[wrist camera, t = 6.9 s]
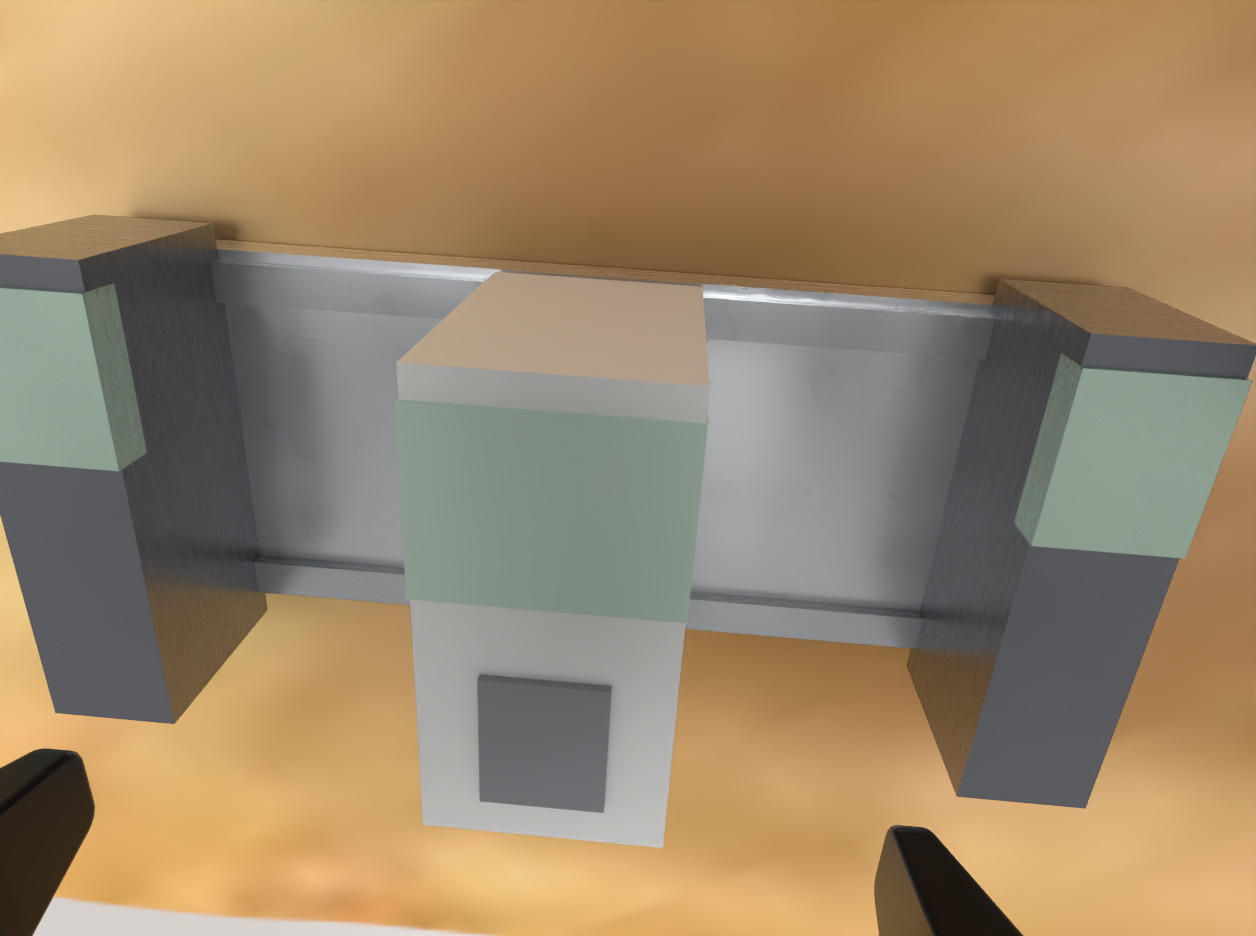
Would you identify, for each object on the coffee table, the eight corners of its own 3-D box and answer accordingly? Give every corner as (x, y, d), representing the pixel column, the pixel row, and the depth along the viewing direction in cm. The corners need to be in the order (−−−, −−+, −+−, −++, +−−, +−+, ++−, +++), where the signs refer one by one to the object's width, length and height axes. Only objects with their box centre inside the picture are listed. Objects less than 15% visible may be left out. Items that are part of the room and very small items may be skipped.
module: (703, 286, 16) (711, 389, 10) (670, 634, 19) (663, 855, 14) (494, 271, 16) (391, 365, 11) (496, 619, 19) (419, 832, 14)
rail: (1104, 277, 17) (1265, 347, 12) (997, 649, 20) (1088, 812, 16) (123, 208, 17) (-81, 250, 13) (191, 579, 21) (51, 716, 16)
